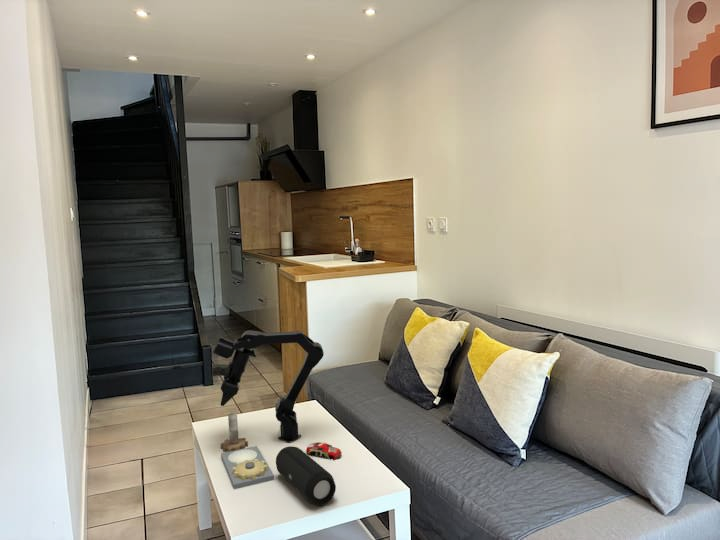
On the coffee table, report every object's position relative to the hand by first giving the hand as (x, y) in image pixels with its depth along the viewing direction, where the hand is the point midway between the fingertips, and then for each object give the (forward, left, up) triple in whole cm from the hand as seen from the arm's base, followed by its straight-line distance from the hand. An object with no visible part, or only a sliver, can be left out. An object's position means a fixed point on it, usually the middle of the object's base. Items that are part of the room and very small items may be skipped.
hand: (222, 401), depth 201 cm
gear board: (-21, +8, -17) cm, 28 cm away
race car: (-37, -14, -17) cm, 43 cm away
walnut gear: (-5, 0, -17) cm, 17 cm away
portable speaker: (-47, +7, -17) cm, 50 cm away
